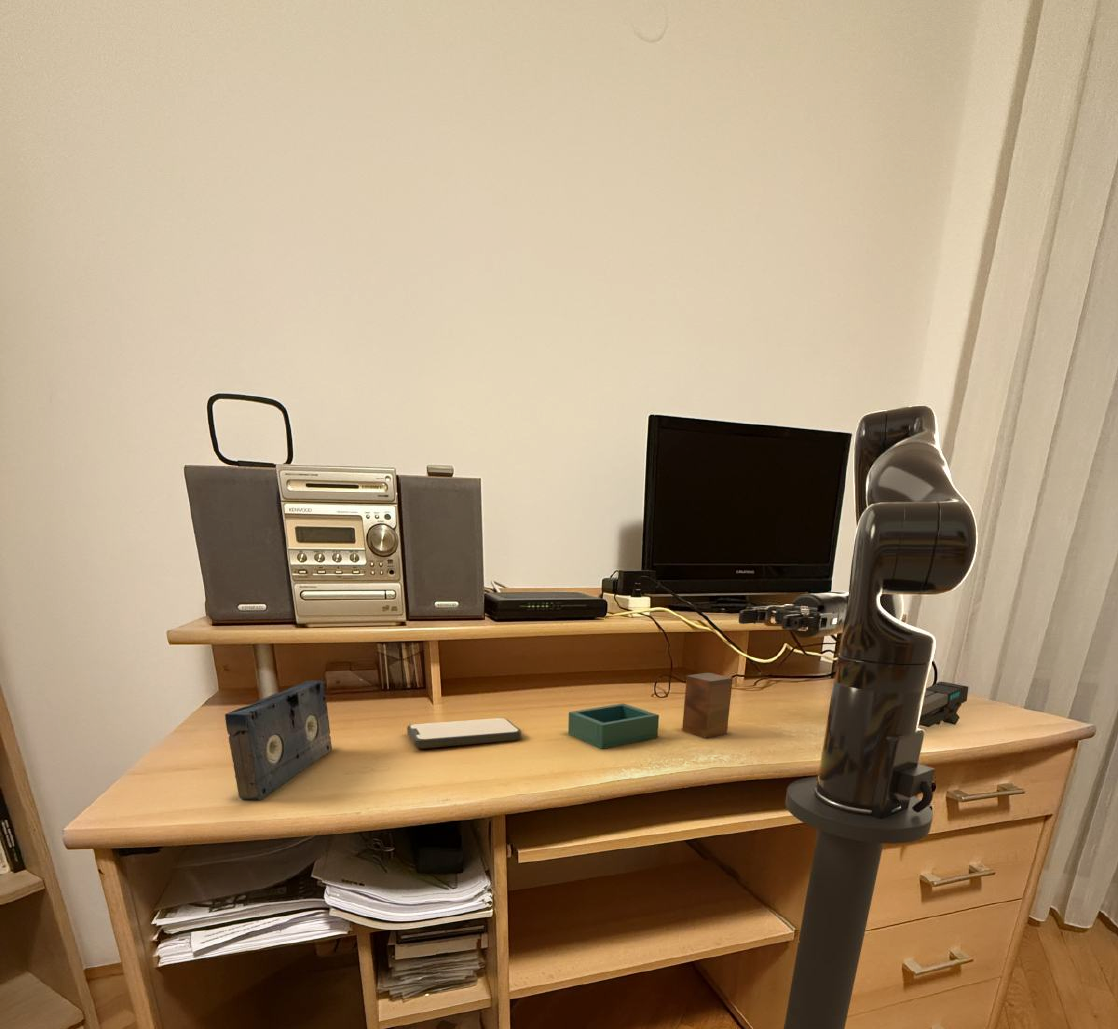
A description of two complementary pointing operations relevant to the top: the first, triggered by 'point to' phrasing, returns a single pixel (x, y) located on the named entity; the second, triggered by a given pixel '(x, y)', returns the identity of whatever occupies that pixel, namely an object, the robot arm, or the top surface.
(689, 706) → the brown block
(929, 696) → the gun
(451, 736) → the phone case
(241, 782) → the vhs cassette tape
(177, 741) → the top surface
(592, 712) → the open box
